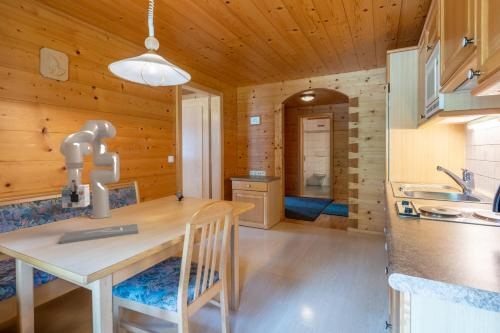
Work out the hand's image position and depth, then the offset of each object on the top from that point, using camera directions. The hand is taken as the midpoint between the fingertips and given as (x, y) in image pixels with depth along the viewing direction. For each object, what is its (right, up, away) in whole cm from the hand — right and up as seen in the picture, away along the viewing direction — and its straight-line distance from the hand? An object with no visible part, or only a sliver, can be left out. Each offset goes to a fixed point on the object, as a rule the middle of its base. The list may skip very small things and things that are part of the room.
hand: (76, 200), depth 135 cm
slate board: (+12, -18, +3) cm, 22 cm away
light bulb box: (0, -3, 0) cm, 3 cm away
